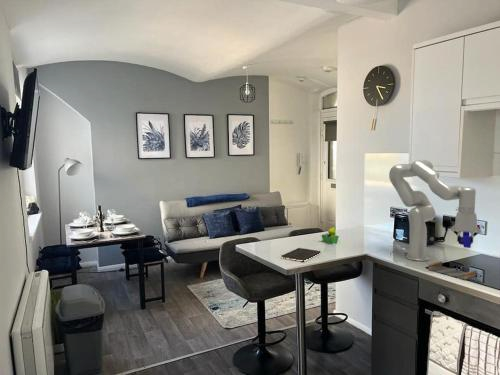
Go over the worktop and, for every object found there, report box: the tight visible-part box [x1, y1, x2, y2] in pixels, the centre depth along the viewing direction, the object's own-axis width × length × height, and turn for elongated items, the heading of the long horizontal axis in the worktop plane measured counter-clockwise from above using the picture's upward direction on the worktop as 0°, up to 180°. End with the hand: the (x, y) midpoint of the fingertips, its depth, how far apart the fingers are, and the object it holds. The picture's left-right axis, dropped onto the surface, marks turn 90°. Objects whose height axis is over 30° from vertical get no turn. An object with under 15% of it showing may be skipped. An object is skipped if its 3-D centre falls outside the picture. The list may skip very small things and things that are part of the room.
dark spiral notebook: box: [281, 247, 321, 261], centre depth 240 cm, size 16×23×2 cm
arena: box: [427, 261, 478, 281], centre depth 203 cm, size 20×11×3 cm, turn 32°
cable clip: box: [459, 232, 472, 249], centre depth 205 cm, size 12×4×6 cm, turn 154°
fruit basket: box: [321, 226, 340, 245], centre depth 273 cm, size 11×9×11 cm
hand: (464, 243), depth 206 cm, fingers closed on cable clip, 4 cm apart
